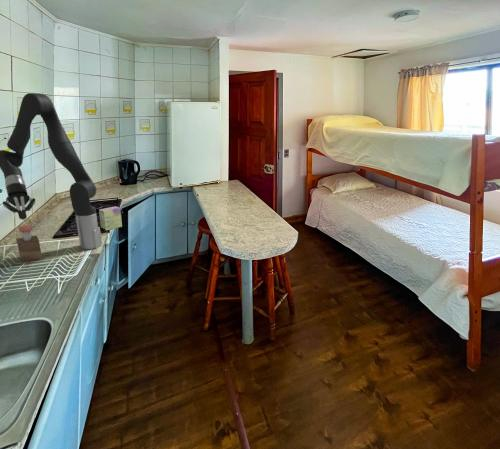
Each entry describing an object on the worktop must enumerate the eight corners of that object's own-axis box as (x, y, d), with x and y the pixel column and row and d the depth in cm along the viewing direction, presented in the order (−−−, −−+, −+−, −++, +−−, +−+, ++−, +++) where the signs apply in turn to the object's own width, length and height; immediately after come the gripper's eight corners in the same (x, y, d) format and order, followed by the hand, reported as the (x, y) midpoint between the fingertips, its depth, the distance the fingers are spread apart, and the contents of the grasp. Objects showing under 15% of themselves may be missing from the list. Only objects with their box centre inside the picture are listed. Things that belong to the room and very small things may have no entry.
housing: (20, 256, 156) (16, 238, 154) (40, 253, 161) (36, 235, 158) (21, 262, 150) (17, 243, 148) (42, 258, 155) (38, 240, 152)
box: (117, 224, 205) (115, 206, 201) (122, 226, 201) (120, 207, 198) (100, 228, 197) (98, 209, 193) (105, 230, 194) (103, 211, 190)
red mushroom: (21, 246, 155) (17, 226, 152) (34, 244, 157) (30, 224, 155) (22, 249, 151) (18, 229, 148) (35, 247, 154) (32, 227, 151)
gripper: (-3, 183, 149) (4, 216, 143) (32, 180, 157) (40, 212, 151) (-1, 193, 155) (6, 225, 149) (33, 190, 162) (40, 220, 157)
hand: (23, 218), depth 150 cm, fingers closed
